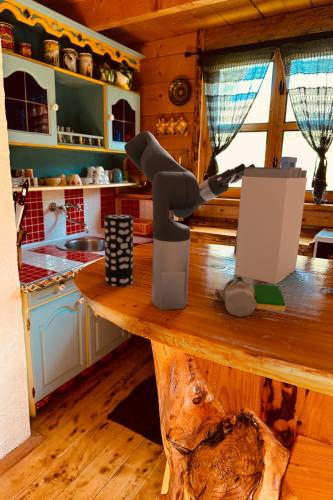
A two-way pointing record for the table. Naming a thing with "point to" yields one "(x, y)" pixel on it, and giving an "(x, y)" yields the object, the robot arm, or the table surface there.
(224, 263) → the table surface
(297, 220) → the stand
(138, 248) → the table surface
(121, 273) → the white-spotted black cylinder
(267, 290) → the dish sponge
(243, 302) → the ceramic sculpture
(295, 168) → the grey rectangular bar
